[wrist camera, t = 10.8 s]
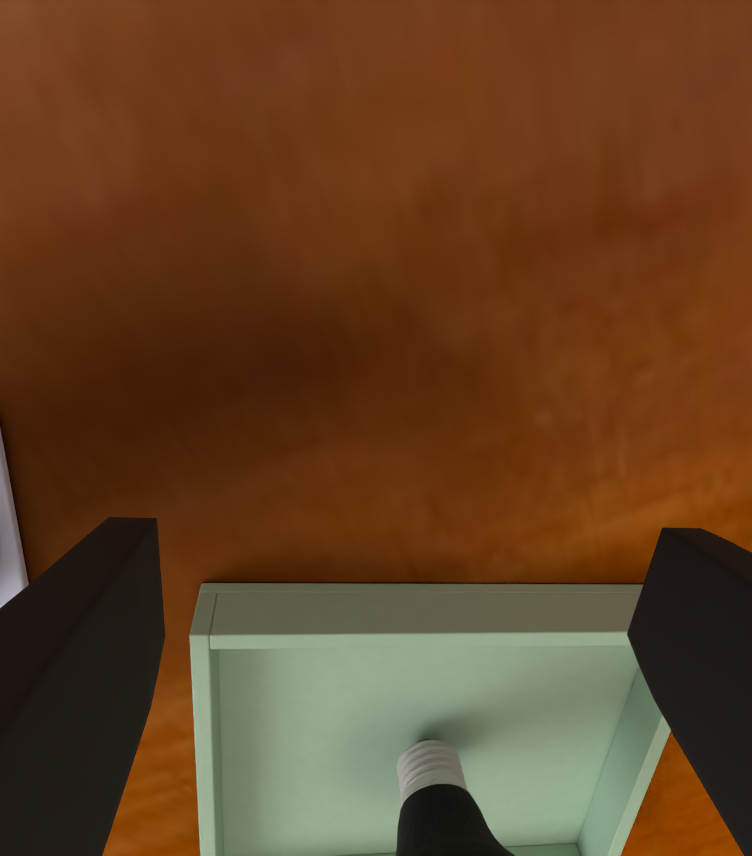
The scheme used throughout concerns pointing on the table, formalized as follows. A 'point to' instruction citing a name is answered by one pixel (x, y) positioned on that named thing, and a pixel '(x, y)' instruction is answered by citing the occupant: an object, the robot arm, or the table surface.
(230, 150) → the table surface
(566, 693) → the tray
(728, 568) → the robot arm
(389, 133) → the table surface
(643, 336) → the table surface
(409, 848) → the light bulb
